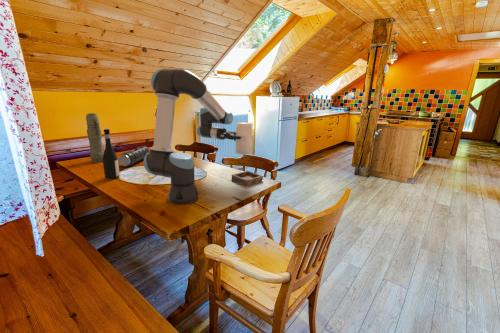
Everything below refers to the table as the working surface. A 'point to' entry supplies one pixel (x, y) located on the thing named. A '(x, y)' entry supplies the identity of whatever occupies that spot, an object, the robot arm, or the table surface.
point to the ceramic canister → (244, 130)
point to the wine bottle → (110, 159)
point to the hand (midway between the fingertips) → (250, 137)
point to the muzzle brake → (133, 156)
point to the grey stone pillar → (94, 138)
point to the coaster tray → (247, 178)
